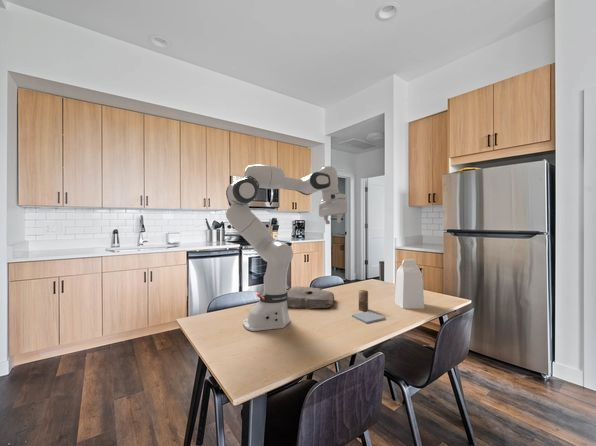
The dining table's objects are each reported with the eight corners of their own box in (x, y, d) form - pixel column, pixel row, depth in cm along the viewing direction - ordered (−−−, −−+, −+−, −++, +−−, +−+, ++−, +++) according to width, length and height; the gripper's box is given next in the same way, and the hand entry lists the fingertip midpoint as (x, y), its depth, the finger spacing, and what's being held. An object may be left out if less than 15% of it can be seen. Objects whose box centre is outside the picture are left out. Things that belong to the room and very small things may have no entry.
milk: (414, 302, 162) (414, 258, 162) (424, 308, 151) (424, 261, 151) (394, 302, 162) (394, 258, 162) (402, 308, 151) (402, 261, 150)
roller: (362, 311, 146) (362, 292, 146) (356, 309, 151) (356, 290, 150) (370, 310, 148) (369, 291, 148) (363, 307, 153) (363, 289, 153)
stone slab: (277, 308, 154) (277, 297, 154) (289, 294, 183) (289, 284, 183) (333, 311, 148) (333, 299, 148) (335, 296, 177) (335, 286, 177)
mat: (366, 323, 129) (366, 321, 129) (351, 316, 139) (351, 314, 139) (385, 319, 135) (385, 317, 135) (370, 312, 145) (370, 311, 144)
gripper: (314, 200, 152) (316, 225, 152) (338, 194, 135) (340, 222, 134) (324, 200, 156) (326, 224, 155) (348, 194, 138) (350, 221, 137)
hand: (333, 223), depth 144 cm, fingers open, 8 cm apart
